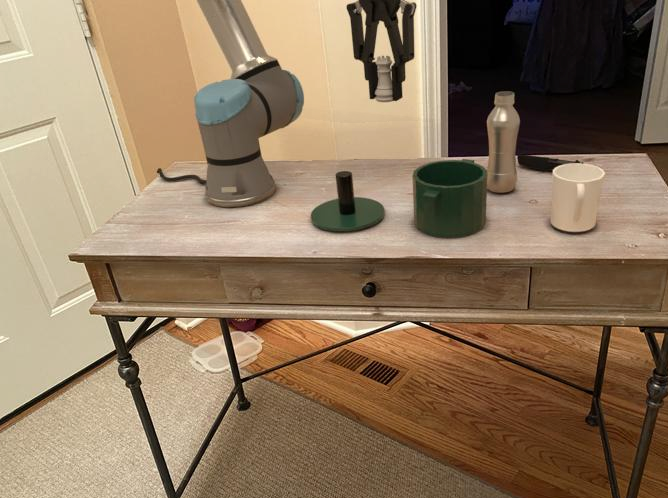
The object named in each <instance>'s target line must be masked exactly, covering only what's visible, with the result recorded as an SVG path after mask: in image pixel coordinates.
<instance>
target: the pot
mask: <svg viewBox="0 0 668 498" xmlns="http://www.w3.org/2000/svg"><path fill="white" fill-rule="evenodd" d="M487 193H488V188H487V168H485V167H484V166H483V165H481V164H479V163H477V162H475V160H474V159H468V158H462V159H461V160H460V159H447V160H436V161H432V162H427V163H425V164H422V165H419V166H418V167H417V168H416V169H414V170H413V173H412V198H413V202H412V203H413V222H414V226H415V228H416V229H417V230H418V232H420V233H422V234H424V235H426V236H429V237H432V238H439V239H459V238H465V237H469V236H472V235H475V234H477V233H479V232H480V231H482V230H483V229H484V228H485V226H486V223H487V197H488V196H487V195H488V194H487Z"/></svg>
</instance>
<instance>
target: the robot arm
mask: <svg viewBox="0 0 668 498" xmlns="http://www.w3.org/2000/svg"><path fill="white" fill-rule="evenodd" d="M196 3H197V4H198V7H199V8H200V10H201V12H202V14H203V16H204V18H205V20H206V22H207V24H208V26H209V28H210V30H211V32H212V34H213V36H214V38H215V40H216V42H217V44H218V47H219V48H220V50H221V52H222V54H223V55H224V58H225V60H226V62H227V64H228V66H229V68H230V70H231V75H230V78H228V79H222V80H221V81H215V82H212V83H209V84H207V85H205V86H203V87H201V88H200V89H199V90H198V91H196V93H195V95H194V98H193V103H194V110H195V113H194V114H195V118H196V121H197V126H198V130H199V134H200V138H201V141H202V147H203V150H204V154H205V159H206V164H207V166H206V179H202V178H201V177H200V176H199V175H197V174H184V175H180V176H175V177H174V176H173V177H168V176H166V175H165V174H164V173H163V170H162V168H161V167H159V168H157V170H156V174H159V176H160V178H161V179H162V180H164V181H166V182H177V181H182V180H186V179H196V181H197V182H198V183H200V184H202V185H203V184H205V186H204V194H205V198H206V201H207V202H208V203H209V204H211V205H212V206H214V207H215V206H216V207H219V208H221V207H222V208H240V207H247V206H251V205H254V204H258V203H261V202H263V201H265V200H267V199H269V198H271V197H272V196H273V195H274V194H275V192H276V190H277V189H276V181H275V179H274V177H273V175H272V174H271V173H270V172H269V169H268V166H267V164H266V163H265V159H263V156H262V152H261V145H260V138H262V137H265V136H267V135H269V134H271V133H274V132H276V131H278V130H281V129H284V128H286V127H288V126H290V125H291V124H292V123H294V122H295V121H296V120H298V119H299V117H300V116H301V114H302V112H303V107H304V104H305V94H304V90H303V86H302V84H301V82H300V80H299V79H298V77H297V76H296V75H295V74H294V73H291V72H290V70H286V69H283V68H282V67H281V65H280V64H281V63H280V62H279V59H278V58H277V57H274V56H272V55H269V54H268V53H267V51H266V49H265V46H264V45H263V42H262V41H261V39H260V36H259V34H258V32H257V30H256V28H255V26H254V24H253V22H252V20H251V18H250V16H249V13H248V12H247V9H246V7H245V5H244V4H243V1H242V0H196ZM417 5H418V4H417V3H416V2H414V1H412V2H409V1H407V0H356V1H354V2H351V3H347V4H346V11H347V14H348V16H349V20H350V31H351V32H350V33H351V41H352V52H353V53H352V54H353V58H354V60H356V61H360V62H362V64H363V73H364V79H365V81H368V90H369V91H368V93H369V100H376V99H375V97H376V94H375V91H376V89H377V86H378V77H379V75H378V72H377V70H378V66H377V64H376V61H375V60H376V57H375V51H376V43H377V36H378V35H377V34H378V27H379V24H380V22H382V23H383V26H384V27H385V29H386V33H387V37H388V40H389V44H390V49H391V53H392V57H393V61H394V63H393V62H392V64H391V65H390V68H391V79H392V92H393V101H392V102H398V101H399V100H401V99H403V83H404V82H405V81H406V79H407V78H406V64H407V63H409V62H410V61H413V60H414V59H415V14H416V10H417ZM399 10H400V13H401V14H402V17H401V32H402V36H401V32H400V27H399V23H400V22H399V18H398V12H399ZM363 12H364V13H365V20H364V21H365V22H364V21H363V15H362V13H363ZM363 23H364V24H363ZM364 25H365V30H364ZM364 31H365V32H364Z"/></svg>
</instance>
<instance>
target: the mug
mask: <svg viewBox="0 0 668 498" xmlns="http://www.w3.org/2000/svg"><path fill="white" fill-rule="evenodd" d="M605 175H606V172H605V171H604V169H603V168H601V167H599V166H596V165H594V164H593V165H592V164H589V163H584V164H580V163H572V164H564V165H560V166H558V167H556V168H554V169H553V171H552V191H551V192H552V193H551V204H550V207H551V208H550V220H549V222H550V223H549V224H550V226H551V228H553V229H554V230H555V231H557V232H559V233H562V234H567V235H582V234H587V233H590V232H592V231H593V230H594V229H595V227H596V223H597V217H598V212H599V211H598V210H599V205H600V199H601V193H602V188H603V184H604V180H605Z"/></svg>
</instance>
